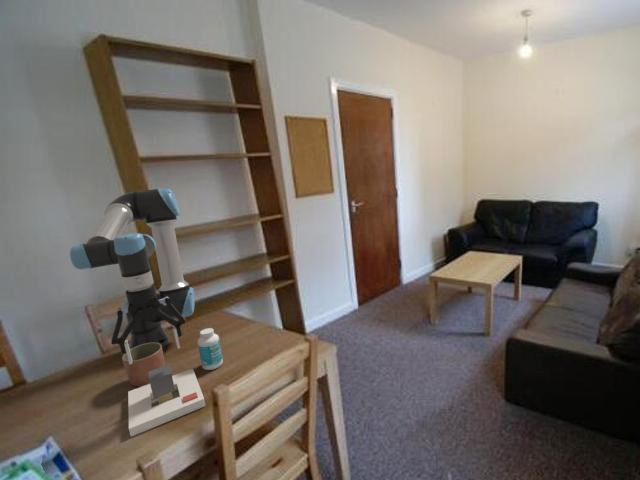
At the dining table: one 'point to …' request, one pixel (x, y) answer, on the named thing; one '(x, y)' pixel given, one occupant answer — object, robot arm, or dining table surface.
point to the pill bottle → (210, 349)
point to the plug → (162, 384)
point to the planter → (143, 362)
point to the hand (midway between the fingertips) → (155, 354)
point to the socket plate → (152, 414)
